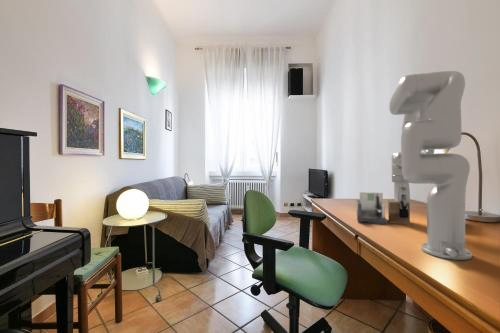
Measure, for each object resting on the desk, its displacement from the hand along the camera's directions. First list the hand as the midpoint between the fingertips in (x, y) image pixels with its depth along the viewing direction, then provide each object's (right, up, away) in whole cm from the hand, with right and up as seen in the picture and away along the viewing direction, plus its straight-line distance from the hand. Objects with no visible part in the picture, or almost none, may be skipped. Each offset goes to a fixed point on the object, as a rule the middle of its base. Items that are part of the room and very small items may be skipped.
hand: (401, 215), depth 116 cm
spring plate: (-8, -1, +3) cm, 9 cm away
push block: (-1, -3, 0) cm, 4 cm away
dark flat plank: (-8, -2, +6) cm, 10 cm away
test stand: (-12, -4, +5) cm, 13 cm away
